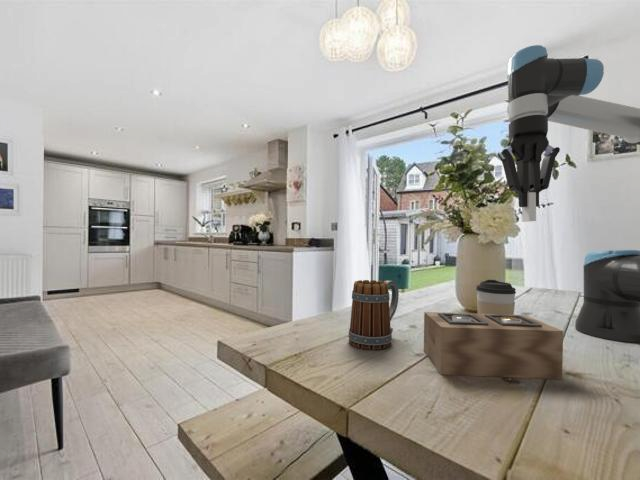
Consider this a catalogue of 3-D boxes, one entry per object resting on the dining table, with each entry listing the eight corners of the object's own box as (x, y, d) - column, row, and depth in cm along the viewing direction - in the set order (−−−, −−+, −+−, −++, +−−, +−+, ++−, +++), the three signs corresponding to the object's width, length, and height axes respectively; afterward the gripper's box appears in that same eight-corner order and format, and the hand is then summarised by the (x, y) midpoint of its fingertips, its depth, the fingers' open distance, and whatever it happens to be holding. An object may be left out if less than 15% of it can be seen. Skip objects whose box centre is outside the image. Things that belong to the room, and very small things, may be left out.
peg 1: (466, 355, 66) (466, 315, 66) (473, 361, 62) (474, 319, 62) (449, 354, 66) (449, 314, 66) (455, 361, 62) (455, 319, 62)
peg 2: (514, 356, 65) (515, 316, 65) (525, 363, 61) (525, 321, 61) (497, 356, 65) (497, 316, 65) (506, 363, 62) (507, 320, 62)
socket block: (523, 355, 69) (524, 313, 69) (562, 379, 57) (563, 328, 57) (423, 351, 70) (424, 310, 70) (440, 374, 58) (441, 325, 58)
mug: (372, 354, 68) (373, 287, 68) (339, 341, 76) (340, 281, 76) (412, 340, 78) (413, 281, 78) (380, 330, 86) (380, 277, 86)
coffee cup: (521, 346, 75) (522, 284, 75) (481, 343, 76) (482, 283, 76) (506, 334, 84) (507, 279, 83) (471, 332, 85) (471, 278, 85)
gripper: (545, 124, 75) (547, 221, 75) (490, 126, 75) (492, 222, 75) (569, 111, 67) (570, 219, 67) (507, 114, 68) (509, 221, 68)
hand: (529, 221), depth 71 cm, fingers closed
